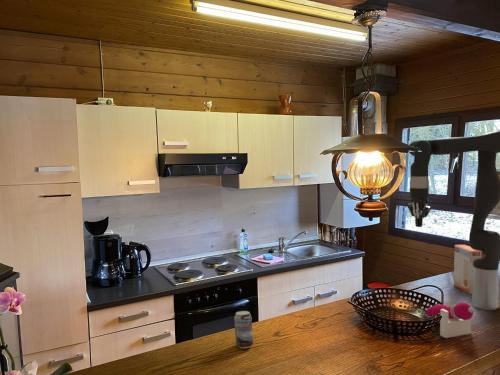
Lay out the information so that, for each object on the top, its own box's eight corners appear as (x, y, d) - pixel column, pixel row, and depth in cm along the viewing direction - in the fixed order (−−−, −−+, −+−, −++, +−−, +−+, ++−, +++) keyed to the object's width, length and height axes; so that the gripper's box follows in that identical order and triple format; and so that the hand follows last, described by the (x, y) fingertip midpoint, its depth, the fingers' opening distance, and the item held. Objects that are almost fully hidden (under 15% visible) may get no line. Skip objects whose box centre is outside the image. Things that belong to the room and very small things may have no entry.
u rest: (465, 330, 142) (465, 305, 141) (470, 333, 139) (471, 307, 139) (440, 335, 139) (440, 309, 138) (445, 338, 136) (445, 311, 136)
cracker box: (481, 294, 178) (482, 250, 176) (468, 294, 178) (469, 251, 176) (465, 284, 192) (466, 244, 190) (453, 285, 192) (454, 244, 190)
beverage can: (240, 352, 129) (239, 318, 128) (231, 343, 135) (230, 311, 135) (256, 348, 132) (256, 314, 131) (247, 339, 138) (246, 307, 138)
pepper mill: (422, 317, 148) (461, 312, 130) (428, 301, 151) (467, 294, 134) (437, 328, 148) (478, 325, 130) (443, 312, 151) (484, 307, 134)
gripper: (437, 187, 157) (437, 228, 159) (415, 185, 170) (415, 223, 171) (422, 188, 155) (422, 230, 157) (401, 186, 168) (401, 224, 169)
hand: (418, 226), depth 164 cm, fingers closed
